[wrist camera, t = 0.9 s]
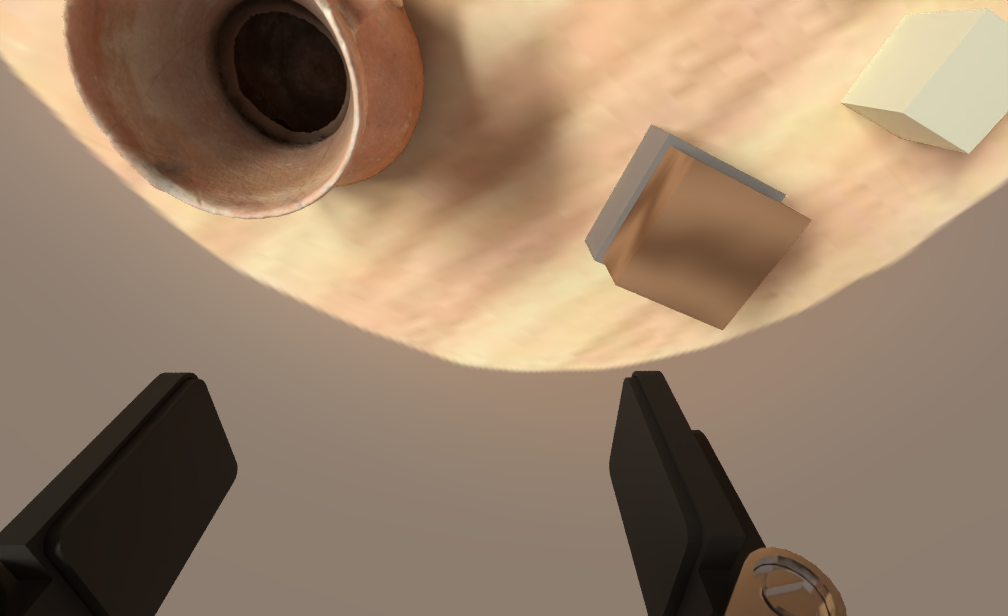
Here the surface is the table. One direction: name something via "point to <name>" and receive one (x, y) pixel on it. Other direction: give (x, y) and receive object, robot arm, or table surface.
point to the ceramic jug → (248, 94)
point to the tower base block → (640, 174)
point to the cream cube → (938, 79)
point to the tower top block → (700, 240)
